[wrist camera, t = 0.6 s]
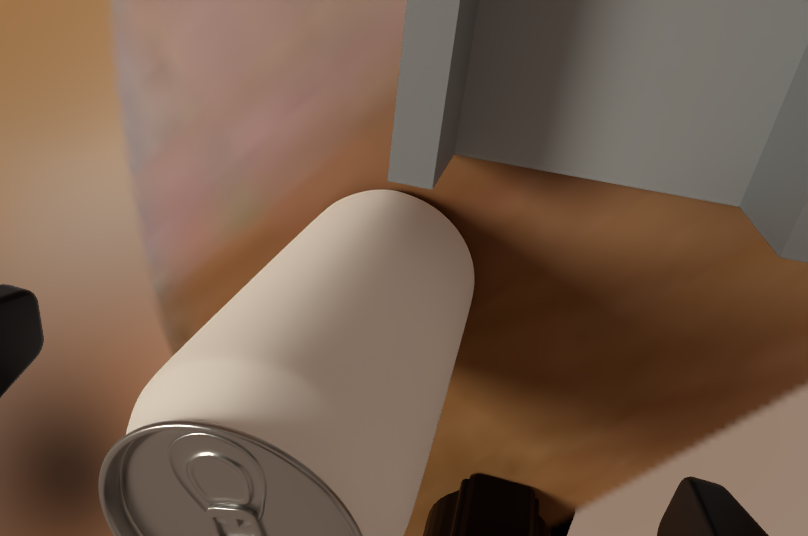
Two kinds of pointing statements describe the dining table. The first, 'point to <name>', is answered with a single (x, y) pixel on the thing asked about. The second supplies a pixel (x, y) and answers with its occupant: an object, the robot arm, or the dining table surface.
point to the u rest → (616, 98)
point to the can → (305, 387)
